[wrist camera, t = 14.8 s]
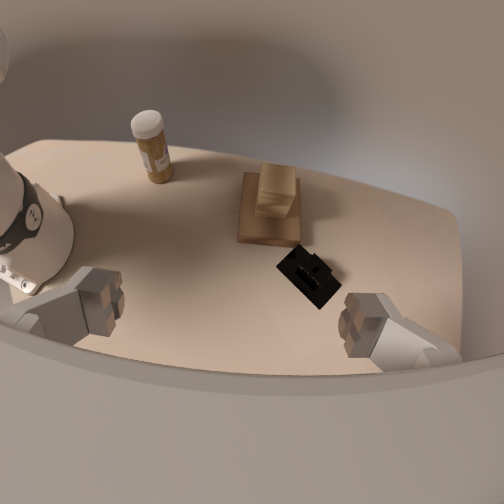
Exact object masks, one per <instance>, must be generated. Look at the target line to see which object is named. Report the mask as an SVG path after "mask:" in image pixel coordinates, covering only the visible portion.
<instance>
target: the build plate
mask: <svg viewBox="0 0 504 504" xmlns="http://www.w3.org/2000/svg"><path fill="white" fill-rule="evenodd" d="M276 267H277V268H278V269H279V270H280V271H281V272H282V273H283V274H284V275H285V276H286V277H287V278H288V279H289V280H290V281H291V282H292V283H293V284H294V285H295V286H296V287H297V288H298V289H299V290H300V291H301V292H302V293H303V294H304V295H305V296H306V297H307V298H308V299H309V300H310V301H311V302H312V303H313V304H314V305H315V306H316V307H317V308H318V309H319V310H320V309H321V308H322V307H323V306H324V305H325V304H326V303H327V302H328V301H329V299H330V298H331V297H332V296H333V295H334V294H335V293H336V292H337V290H338V289H339V288H340V287H341V286H342V285H341V284H340V283H339V282H338V281H337V280H336V279H335V278H334V277H333V276H332V275H331V272H332V270H331V269H330V268H329V267H328V266H327V265H326V264H325V263H324V262H323V261H322V260H321V259H320V258H319V257H318V256H317V255H316V254H315V253H314V254H313V255H312V254H310V253H309V252H308V251H307V250H305V249H304V248H303V247H302V246H301V245H300V244H298V245H297V246H296V248H294V249H293V250H292V251H291V252H290V253H289V254H288V255H287V256H286V257H285V258H284V259H283V260H282V261H281V262H280V263H279V264H278V265H277V266H276Z"/></svg>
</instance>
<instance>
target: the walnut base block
mask: <svg viewBox="0 0 504 504" xmlns="http://www.w3.org/2000/svg"><path fill="white" fill-rule="evenodd" d="M259 177H260V174H258V173H248V172H244V179H243V188H242V199H241V209H240V219H239V230H238V241H237V242H239V243H249V244H259V245H269V246H279V247H289V248H296V246H297V245H298V243H299V242H300V180H299V179H297V178H295V193H296V195H295V197H294V200H293V202H292V204H291V206H290V209H289V211H288V213H287V216H286V218H285V219H280V218H271V217H261V216H255V208H256V194H257V187H258V182H259Z"/></svg>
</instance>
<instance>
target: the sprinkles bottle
mask: <svg viewBox="0 0 504 504" xmlns="http://www.w3.org/2000/svg"><path fill="white" fill-rule="evenodd" d="M131 129H132V132H133V135H134V136H135V138H136V140H137V144H138V148H139V151H140V154H141V157H142V160H143V163H144V165H145V168H146V169H147V172H148V178H149V179H150V181H152V182H153V183H159V184H160V183H163V182H165V181H167V180H169V179H170V177H171V176H172V173H173V169H172V167H171V163H170V157H169V153H168V148H167V144H166V141H165V136H164V132H163V120H162V116H161V114H160V113H159V112H157V111H154V110H147V111H143V112H141V113H139V114H137V115H136V116H135V117H134V118H133V119H132V121H131Z"/></svg>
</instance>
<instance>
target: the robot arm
mask: <svg viewBox="0 0 504 504" xmlns="http://www.w3.org/2000/svg"><path fill="white" fill-rule="evenodd" d="M8 61H9V48H8V42H7V39H6V37H5V34H4V33H3V31H2V30H1V29H0V83H1V82H2V81H3V79H4V78H5V75H6V71H7V68H8ZM73 239H74V228H73V223H72V220H71V218H70V216H69V215H68V213H67V212H66V211H65V210H64V209H63V207H62V201H61V198H60V197H59V196H58V195H57V194H52V195H50V194H49V193H48V192H46V191H45V190H44V189H43V188H42V187H41V186H40V185H39V184H37V183H32V184H31V183H30V181H29V180H28V179H27V178H26V177H25V176H23V175H22V174H21V173H19V172H16V171H15V169H14V168H13V167H12V166H11V165H10V163H9V162H8V161H7V160H6V159H5V157H4V156H3V155H2V154H1V152H0V278H1V279H2V280H4V281H6V282H7V283H9V284H11V285H12V286H14V287H16V288H17V289H19V290H21V291H22V292H24V293H26V294H28V295H30V296H31V295H33V294H34V293H35V292H36V291H37V290H38V289H39V287H40V286H41V284H43V283H44V282H45V281H47V280H49V279H50V278H52V277H53V276H54V275H56V274H57V273H58V272H59V271H60V269H61V268H62V267H63V265H64V264H65V262H66V261H67V259H68V257H69V254H70V252H71V249H72V245H73ZM121 284H122V276H121V273H120V272H119V271H115V270H108V269H102V268H95V267H89V266H82V267H81V268H80V269H79V270H78V271H77V272H76V273H75V274H74V275H73V276H72V277H71V278H70V279H69V281H68V282H67V283H66V284H65V285H64V286H63V287H61V286H59V287H56V288H54V289H51V290H48V291H46V292H43V293H41V294H38V295H36V296H33V297H31V298H28V299H26V300H23V301H21V302H18V303H16V304H13V305H11V306H9V307H8V308H7V309H6V310H5V312H4V313H3V314H2V315H1V316H0V504H504V353H502V354H498V355H493V356H489V357H484V358H480V359H476V360H470V361H465V362H464V360H463V359H462V358H461V356H460V355H459V353H458V352H457V350H456V349H455V348H454V346H453V345H452V344H450V343H448V342H447V341H445V340H443V339H442V338H440V337H438V336H436V335H435V334H433V333H431V332H430V331H428V330H426V329H425V328H423V327H421V326H420V325H418V324H416V323H415V322H413V321H411V320H409V319H408V318H403V317H402V315H401V314H400V313H399V311H398V310H397V308H396V307H395V305H394V304H393V303H392V301H391V300H390V298H389V297H388V296H387V295H386V294H384V293H348V295H347V296H346V299H345V302H344V303H345V306H346V309H344V310H343V311H342V312H341V314H340V317H339V323H338V330H339V334H340V337H341V338H342V339H344V340H345V343H344V347H345V350H346V352H347V355H348V357H349V358H369V359H370V360H371V361H372V362H373V363H374V364H376V365H377V366H378V367H379V368H380V369H381V370H382V371H383V372H382V373H369V374H352V375H317V376H298V375H263V374H245V373H231V372H219V371H209V370H200V369H191V368H183V367H176V366H169V365H162V364H156V363H150V362H144V361H138V360H133V359H128V358H122V357H118V356H113V355H108V354H103V353H99V352H95V351H90V350H86V349H82V348H78V347H74V346H73V345H74V344H76V343H77V342H79V341H80V340H82V339H83V338H84V337H86V336H87V335H89V334H94V335H100V336H106V337H110V335H111V333H112V332H113V330H114V328H115V326H116V323H115V320H117V319H118V318H120V317H121V315H122V313H123V309H124V293H123V291H122V290H121V289H120V285H121ZM25 285H26V287H25ZM88 333H89V334H88Z"/></svg>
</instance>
